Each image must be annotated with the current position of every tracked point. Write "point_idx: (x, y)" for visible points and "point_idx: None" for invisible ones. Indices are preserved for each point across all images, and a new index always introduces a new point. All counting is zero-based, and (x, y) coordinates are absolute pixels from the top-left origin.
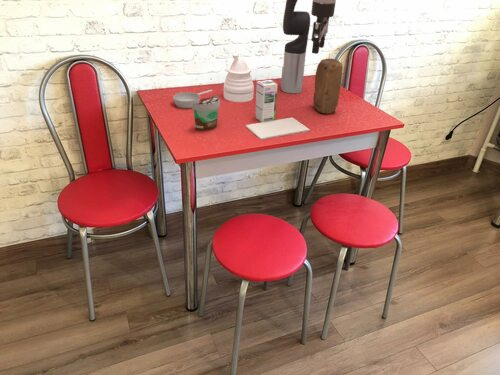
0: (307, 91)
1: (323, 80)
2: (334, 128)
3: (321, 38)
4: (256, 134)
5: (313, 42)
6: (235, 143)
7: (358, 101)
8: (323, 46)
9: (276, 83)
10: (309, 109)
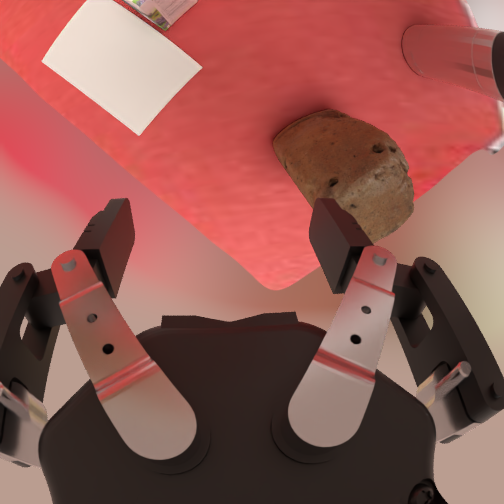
0: (426, 92)
1: (309, 162)
2: (188, 186)
3: (335, 261)
4: (55, 41)
5: (83, 250)
6: (14, 33)
7: None
8: (311, 241)
9: (140, 2)
10: (299, 99)
